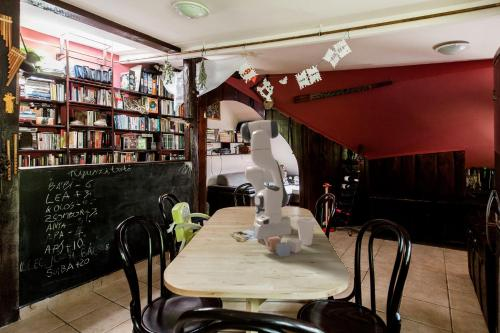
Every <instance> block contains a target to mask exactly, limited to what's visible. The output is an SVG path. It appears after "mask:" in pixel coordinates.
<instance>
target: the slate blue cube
mask: <svg viewBox="0 0 500 333" xmlns="http://www.w3.org/2000/svg"><path fill="white" fill-rule="evenodd" d="M275 254H276V255H278V257H280V258H282V257H287V256H288V257H289V256H291V251H290V245H289V244H287V241H283V242H281V243H276V250H275Z"/></svg>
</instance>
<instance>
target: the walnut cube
mask: <svg viewBox="0 0 500 333" xmlns="http://www.w3.org/2000/svg"><path fill="white" fill-rule="evenodd" d="M257 243H258V244H260V245H262V246H266V242H265V241H264V239H257Z"/></svg>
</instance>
